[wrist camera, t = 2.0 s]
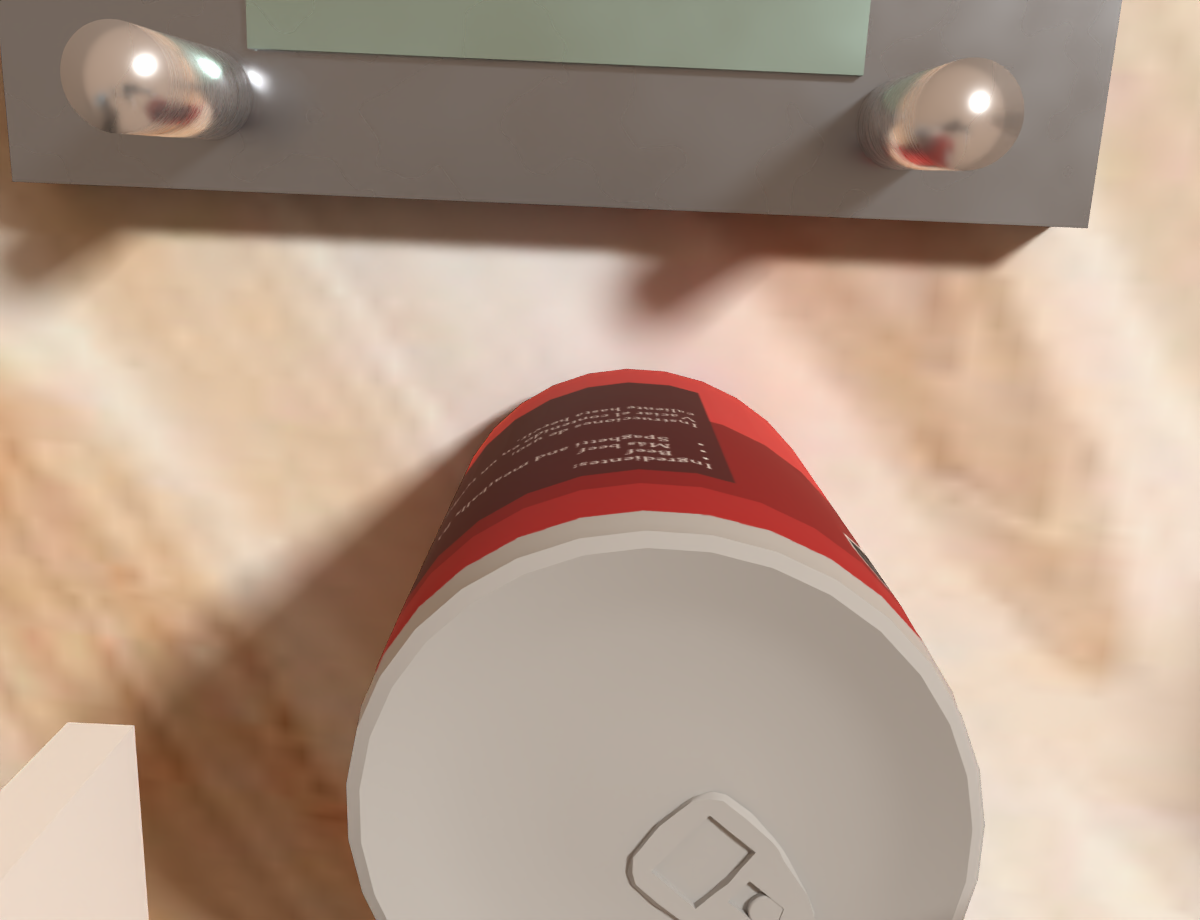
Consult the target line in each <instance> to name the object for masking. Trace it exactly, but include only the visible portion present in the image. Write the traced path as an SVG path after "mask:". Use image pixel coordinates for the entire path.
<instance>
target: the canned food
mask: <svg viewBox="0 0 1200 920" xmlns="http://www.w3.org/2000/svg"><path fill="white" fill-rule="evenodd" d="M346 791H347V818H348V840H349V844H350V848H351V851H352V855H353V859H354V863H355V867H356V871H357V874H358V878H359V882H360V886H361V890H362V893H363V895H364V897H365V899H366V901H367V903H368V905H369V907H370V909H371V911H372V913H373V915H374V917H375V919H376V920H963V919H964V916H965V913H966V911H967V908H968V905H969V902H970V900H971V897H972V894H973V891H974V889H975V886H976V883H977V880H978V874H979V866H980V858H981V851H982V843H983V835H984V827H985V822H984V812H983V802H982V791H981V781H980V770H979V767H978V764H977V761H976V758H975V755H974V752H973V749H972V745H971V742H970V739H969V736H968V733H967V730H966V727H965V724H964V721H963V718H962V715H961V713H960V712H959V710H958V708H957V705H956V702H955V699H954V695H953V692H952V690H951V689H950V687H949V685H948V684H947V682H946V680H945V678H944V677H943V675H942V673H941V672H940V670H939V668H938V667H937V665H936V663H935V661H934V660H933V658H932V656H931V655H930V653H929V651H928V650H927V648H926V646H925V644H924V643H923V641H922V640H921V638H920V637H919V635H918V634H917V632H916V631H915V629H914V627H913V626H912V624H911V622H910V621H909V619H908V617H907V615H906V614H905V612H904V610H903V609H902V607H901V605H900V604H899V602H898V601H897V600H896V598H895V597H894V595H893V594H892V592H891V591H890V589H889V588H888V587H887V585H886V584H885V582H884V581H883V579H882V578H881V576H880V575H879V574H878V572H877V571H876V569H875V568H874V566H873V565H872V563H871V562H870V561H869V559H868V558H867V556H866V555H865V553H864V552H863V550H862V549H861V548H860V546H859V545H858V543H857V542H856V540H855V539H854V537H853V536H852V535H851V533H850V532H849V530H848V529H847V527H846V526H845V525H844V523H843V522H842V520H841V519H840V517H839V516H838V514H837V513H836V512H835V510H834V509H833V507H832V506H831V504H830V503H829V501H828V500H827V499H826V497H825V496H824V494H823V493H822V491H821V490H820V488H819V487H818V486H817V484H816V483H815V481H814V480H813V478H812V477H811V475H810V474H809V473H808V471H807V470H806V468H805V467H804V465H803V464H802V462H801V461H800V460H799V458H798V457H797V455H796V454H795V452H794V451H793V449H792V448H791V447H790V446H789V445H788V444H787V443H786V442H785V440H784V439H783V438H782V437H781V436H780V435H779V434H778V433H777V432H776V430H775V429H774V428H773V427H772V426H771V425H770V424H769V423H768V422H767V421H766V420H765V419H764V418H762V417H761V416H760V415H758V414H757V413H756V412H754V411H753V410H752V409H750V408H749V407H748V406H746V405H745V404H744V403H742V402H741V401H740V400H738V399H737V398H735V397H733V396H731V395H729V394H727V393H725V392H723V391H721V390H719V389H716V388H714V387H712V386H710V385H708V384H706V383H704V382H702V381H698V380H694V379H691V378H687V377H683V376H679V375H676V374H672V373H668V372H663V371H649V370H635V369H622V370H614V371H606V372H598V373H590V374H586V375H583V376H580V377H577V378H574V379H571V380H568V381H565V382H562V383H559V384H556V385H553V386H551V387H550V388H548V389H546V390H544V391H543V392H541V393H539V394H538V395H536V396H534V397H532V398H531V399H529V400H527V401H525V402H524V403H522V404H521V405H519V406H518V407H517V408H516V409H515V410H514V411H513V412H512V413H510V414H509V415H508V416H507V417H506V418H505V419H504V420H503V421H502V422H500V423H499V424H498V425H497V426H496V427H495V428H494V429H493V430H492V432H491V433H490V435H489V436H488V437H487V439H486V440H485V441H484V443H483V444H482V446H481V447H480V448H479V450H478V451H477V452H476V454H475V455H474V457H473V458H472V461H471V463H470V465H469V467H468V469H467V471H466V473H465V476H464V478H463V480H462V482H461V484H460V486H459V489H458V491H457V493H456V495H455V497H454V499H453V501H452V504H451V506H450V508H449V510H448V512H447V514H446V516H445V519H444V521H443V523H442V525H441V527H440V529H439V531H438V534H437V536H436V538H435V540H434V542H433V544H432V546H431V549H430V551H429V553H428V555H427V557H426V559H425V561H424V564H423V566H422V568H421V570H420V572H419V574H418V576H417V579H416V581H415V583H414V585H413V587H412V589H411V591H410V594H409V596H408V598H407V600H406V602H405V604H404V607H403V609H402V611H401V613H400V615H399V617H398V619H397V622H396V624H395V626H394V629H393V631H392V633H391V635H390V638H389V640H388V642H387V644H386V647H385V649H384V651H383V654H382V656H381V658H380V660H379V663H378V665H377V668H376V672H375V675H374V678H373V680H372V682H371V684H370V687H369V689H368V691H367V694H366V696H365V698H364V700H363V703H362V705H361V710H360V715H359V720H358V726H357V730H356V735H355V741H354V746H353V751H352V756H351V762H350V767H349V772H348V777H347V783H346Z"/></svg>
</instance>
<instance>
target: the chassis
mask: <svg viewBox="0 0 1200 920" xmlns="http://www.w3.org/2000/svg"><path fill="white" fill-rule="evenodd" d="M1121 4H1122V0H0V48H1V60H2V71H3V82H4V93H5V104H6V115H7V126H8V137H9V148H10V159H11V170H12V181H13V182H35V183H58V184H81V185H104V186H127V187H150V188H173V189H196V190H219V191H242V192H265V193H289V194H312V195H335V196H358V197H381V198H404V199H427V200H450V201H473V202H496V203H519V204H542V205H565V206H589V207H612V208H635V209H658V210H681V211H704V212H727V213H750V214H773V215H796V216H819V217H842V218H865V219H889V220H912V221H935V222H958V223H981V224H1004V225H1027V226H1050V227H1073V228H1088V222H1089V215H1090V208H1091V202H1092V195H1093V189H1094V182H1095V175H1096V169H1097V162H1098V156H1099V149H1100V142H1101V136H1102V129H1103V123H1104V116H1105V109H1106V103H1107V96H1108V90H1109V83H1110V76H1111V70H1112V63H1113V57H1114V50H1115V43H1116V37H1117V30H1118V23H1119V17H1120V10H1121Z"/></svg>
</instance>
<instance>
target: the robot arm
mask: <svg viewBox="0 0 1200 920" xmlns="http://www.w3.org/2000/svg"><path fill="white" fill-rule="evenodd" d="M0 920H149V915H148V902H147V888H146V875H145V862H144V848H143V835H142V821H141V808H140V794H139V781H138V767H137V754H136V741H135V727H134V725H117V724H95V723H74V722H67V723H66V724H65V725H64V726H63V727H62V728H61V729H60V730H59V731H58V732H57V733H56V735H55V736H54V737H53V738H52V739H51V740H50V741H49V742H48V743H47V744H46V745H45V746H44V747H43V748H42V749H41V750H40V751H39V752H38V753H37V754H36V755H35V756H34V757H33V758H32V759H31V760H30V761H29V762H28V763H27V764H26V765H25V766H24V767H23V768H22V769H21V770H20V771H19V772H18V773H17V774H16V775H15V776H14V777H13V778H12V779H11V780H10V781H9V782H8V783H7V784H6V785H5V786H4V787H3V788H2V789H1V790H0Z"/></svg>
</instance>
